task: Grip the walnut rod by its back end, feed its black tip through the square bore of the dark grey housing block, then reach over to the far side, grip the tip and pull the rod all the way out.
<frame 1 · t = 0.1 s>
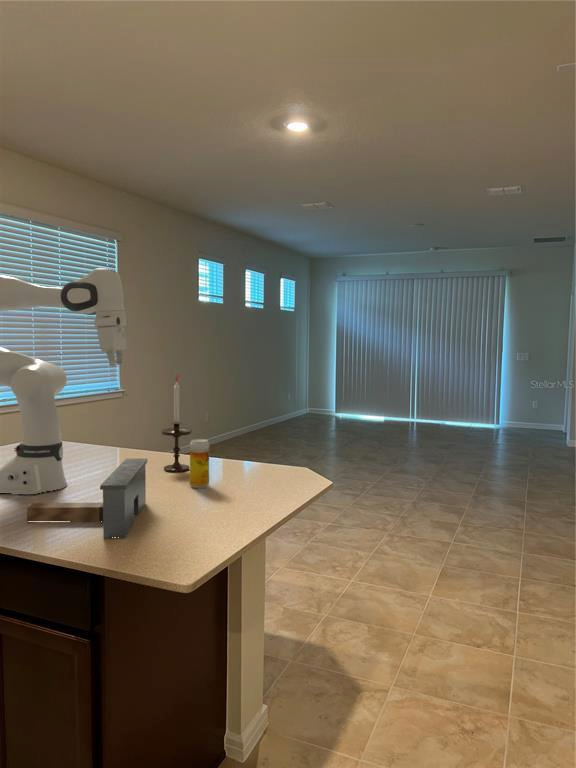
hand: (116, 365, 172), 39 cm above the worktop, tool pointing down, fingers open, 8 cm apart
housing: (126, 519, 144), on the worktop
candlestick: (176, 470, 199), on the worktop
rod: (69, 520, 143), on the worktop
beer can: (199, 486, 177), on the worktop
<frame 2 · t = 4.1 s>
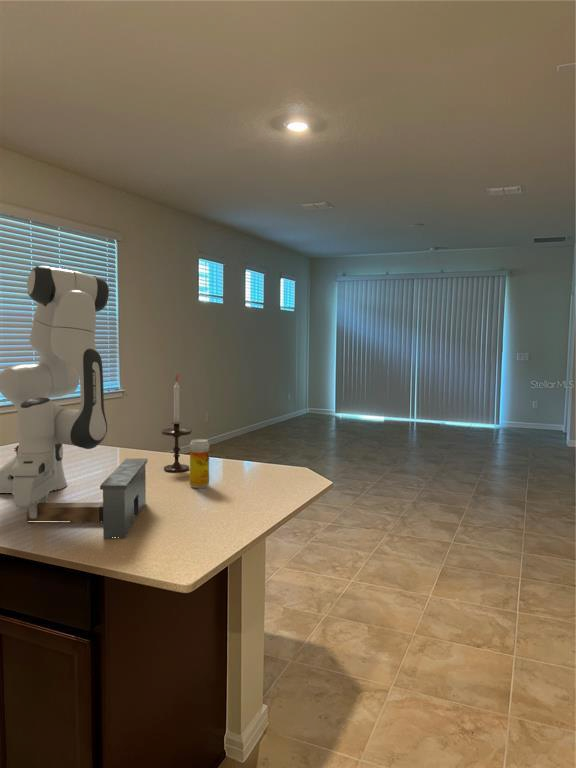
hand: (38, 514, 142), 2 cm above the worktop, tool pointing down, fingers closed on rod, 4 cm apart
rod: (69, 519, 143), on the worktop, touching gripper
everything else where it was.
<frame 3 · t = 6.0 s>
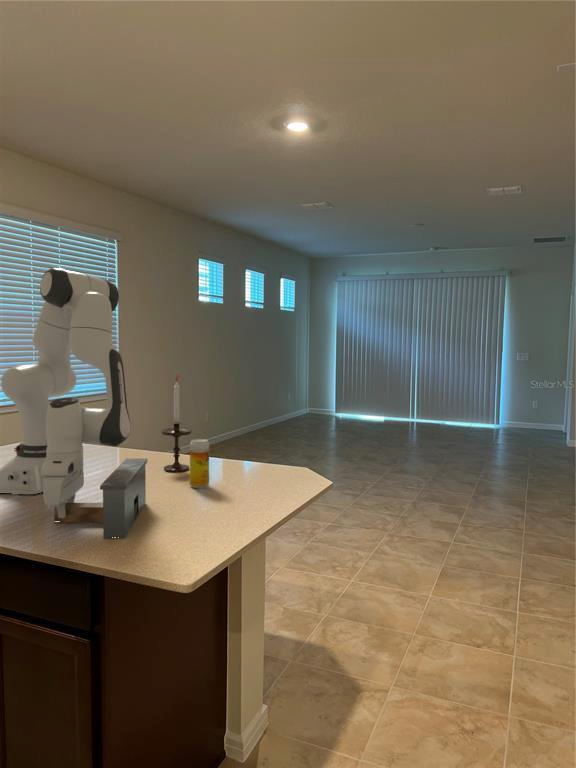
hand: (66, 513, 142), 2 cm above the worktop, tool pointing down, fingers closed on rod, 4 cm apart
rod: (96, 519, 143), on the worktop, touching gripper
everything else where it was.
when the fingers open (2 cm above the worktop, at t = 8.2 s): rod stays where it is, on the worktop.
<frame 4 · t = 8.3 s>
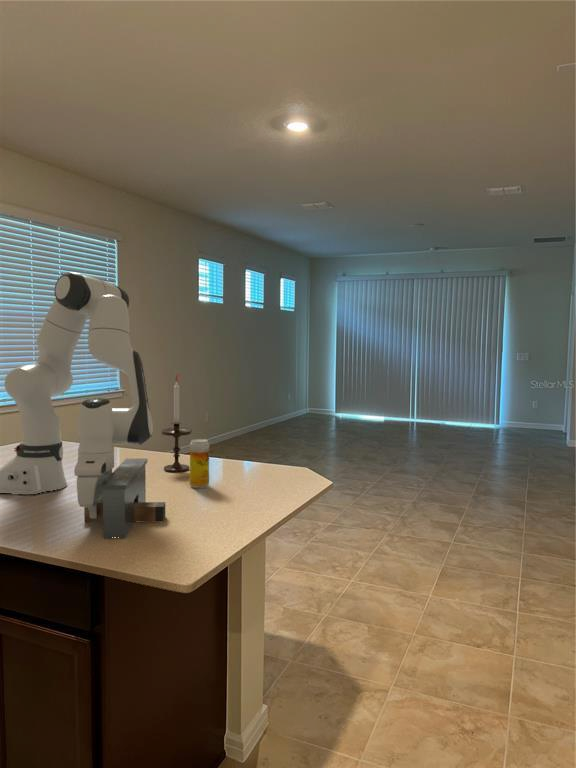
hand: (97, 513, 143), 2 cm above the worktop, tool pointing down, fingers open, 5 cm apart
rod: (125, 519, 144), on the worktop
everything else where it was.
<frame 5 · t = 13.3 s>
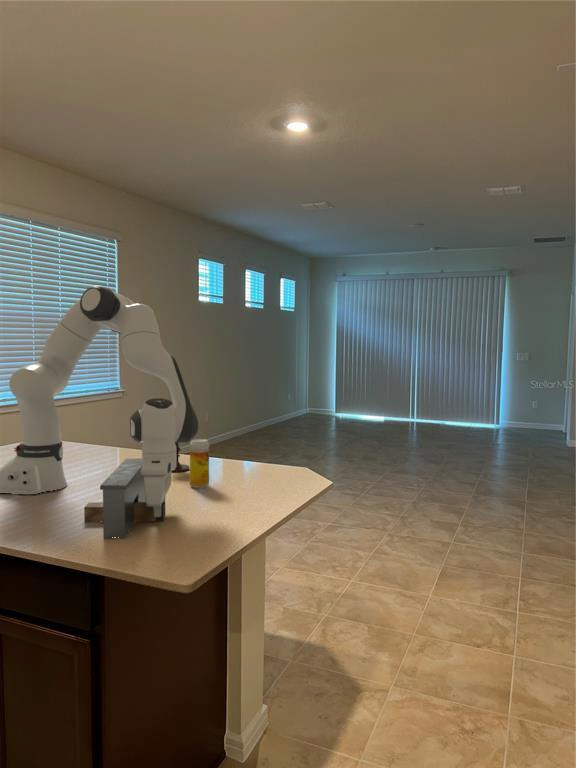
hand: (159, 512, 145), 2 cm above the worktop, tool pointing down, fingers closed on rod, 4 cm apart
rod: (125, 519, 144), on the worktop, touching gripper
everything else where it was.
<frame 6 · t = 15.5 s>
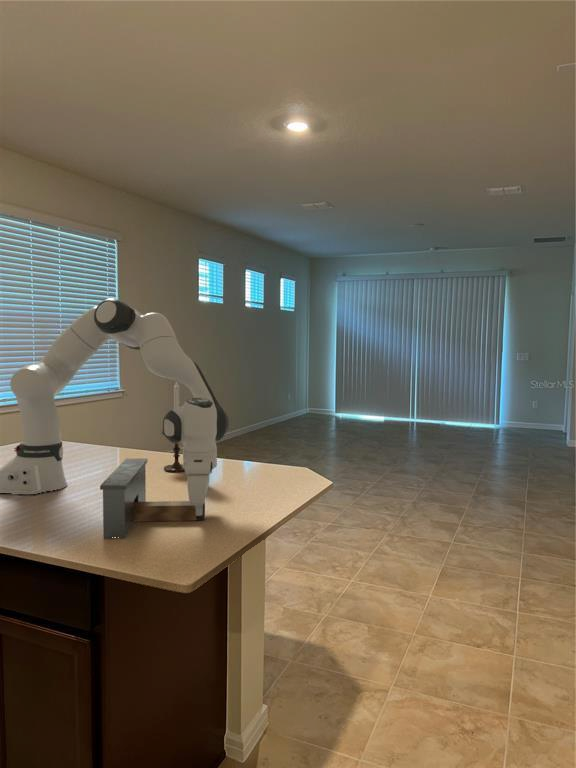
hand: (200, 511, 145), 2 cm above the worktop, tool pointing down, fingers closed on rod, 4 cm apart
rod: (166, 518, 145), on the worktop, touching gripper
everything else where it was.
when the fingers open (2 cm above the worktop, at t = 16.9 s): rod stays where it is, on the worktop.
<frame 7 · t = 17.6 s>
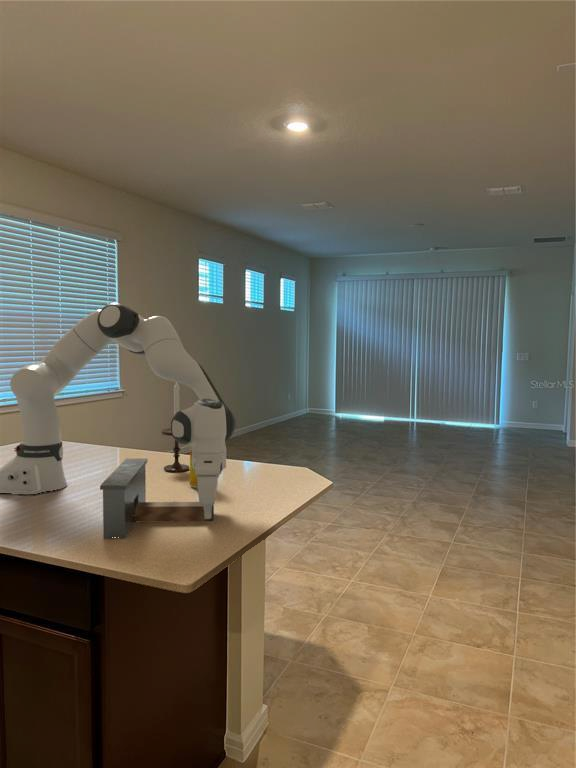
hand: (209, 512, 146), 2 cm above the worktop, tool pointing down, fingers open, 8 cm apart
rod: (175, 518, 145), on the worktop
everything else where it was.
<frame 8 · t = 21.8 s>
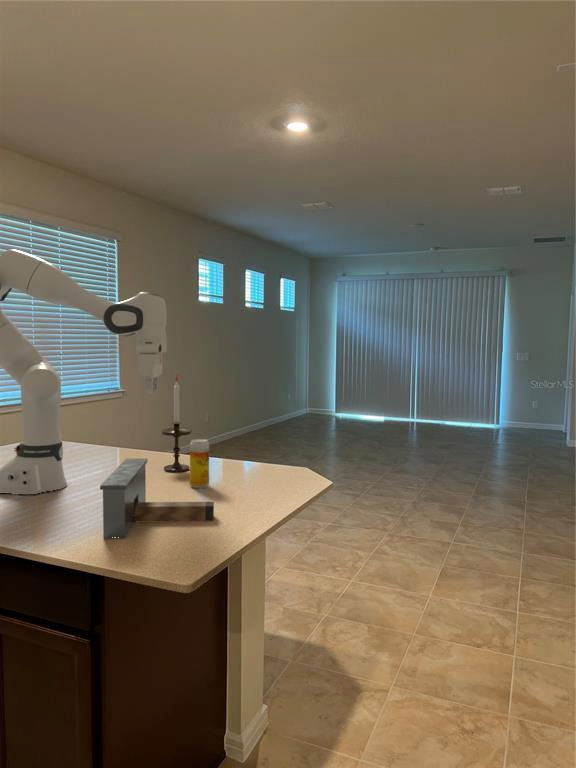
hand: (152, 391, 167), 31 cm above the worktop, tool pointing down, fingers open, 8 cm apart
nothing on the worktop moved.
at the end: rod inside the target area (4.6 cm from its centre), on the worktop; rod moved 27.1 cm from its start; the gripper is holding nothing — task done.
